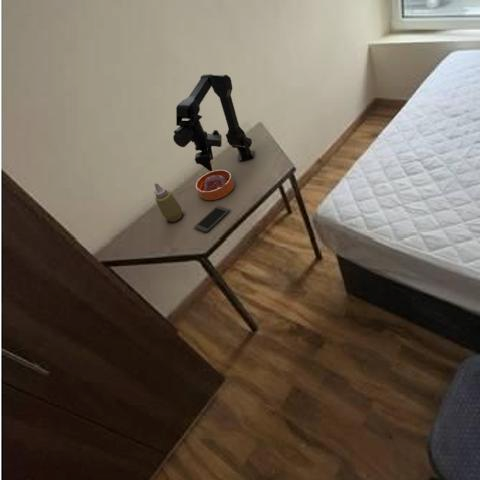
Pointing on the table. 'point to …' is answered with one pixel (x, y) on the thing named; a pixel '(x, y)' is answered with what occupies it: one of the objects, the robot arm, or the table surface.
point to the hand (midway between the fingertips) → (211, 165)
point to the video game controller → (212, 179)
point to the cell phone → (211, 219)
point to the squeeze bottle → (167, 204)
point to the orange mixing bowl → (216, 192)
